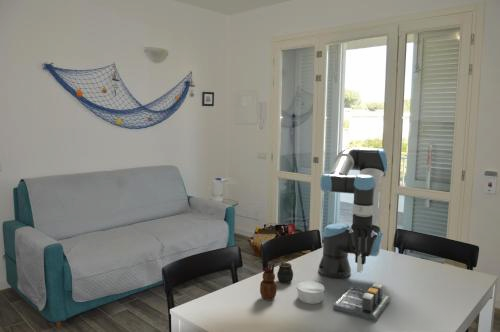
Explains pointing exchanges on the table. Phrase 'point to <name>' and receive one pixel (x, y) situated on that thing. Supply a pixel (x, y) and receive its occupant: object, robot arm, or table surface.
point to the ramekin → (310, 292)
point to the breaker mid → (375, 293)
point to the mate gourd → (285, 272)
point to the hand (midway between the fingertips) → (359, 270)
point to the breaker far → (379, 287)
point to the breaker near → (367, 301)
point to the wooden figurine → (268, 284)
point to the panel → (359, 304)
